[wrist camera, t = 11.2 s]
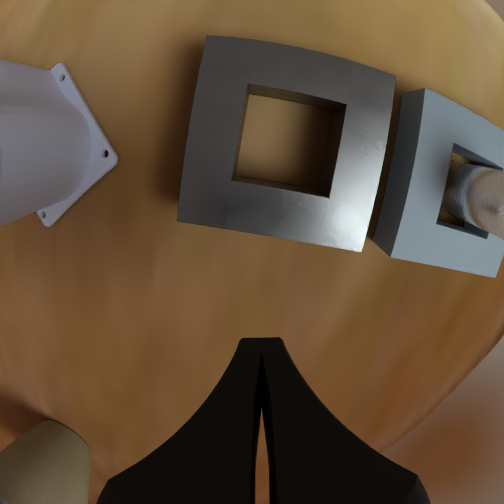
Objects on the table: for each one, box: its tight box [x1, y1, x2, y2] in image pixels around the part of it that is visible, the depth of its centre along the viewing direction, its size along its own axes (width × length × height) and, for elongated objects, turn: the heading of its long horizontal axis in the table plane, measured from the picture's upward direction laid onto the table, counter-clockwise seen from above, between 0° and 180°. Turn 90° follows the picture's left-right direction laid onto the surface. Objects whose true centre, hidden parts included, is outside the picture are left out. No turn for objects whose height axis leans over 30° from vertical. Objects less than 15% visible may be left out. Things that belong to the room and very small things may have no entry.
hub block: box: [373, 88, 504, 278], centre depth 16 cm, size 10×10×3 cm
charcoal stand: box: [177, 35, 396, 252], centre depth 15 cm, size 10×10×3 cm
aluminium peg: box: [440, 161, 504, 240], centre depth 14 cm, size 4×4×7 cm
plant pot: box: [0, 420, 89, 504], centre depth 21 cm, size 15×15×16 cm
